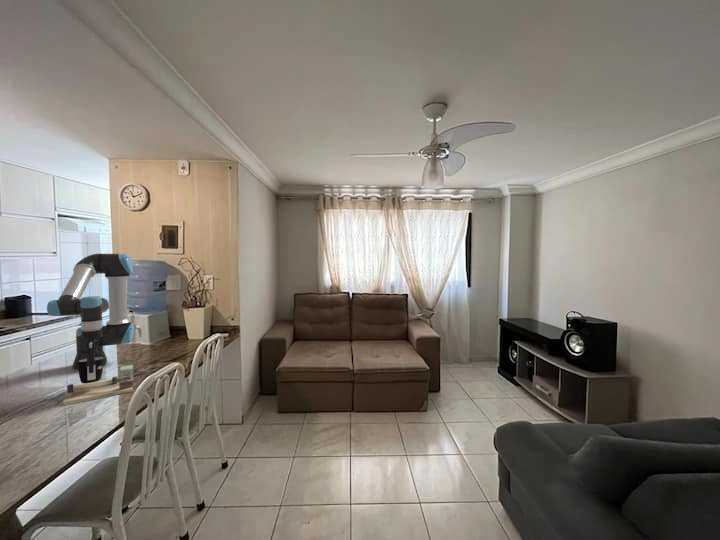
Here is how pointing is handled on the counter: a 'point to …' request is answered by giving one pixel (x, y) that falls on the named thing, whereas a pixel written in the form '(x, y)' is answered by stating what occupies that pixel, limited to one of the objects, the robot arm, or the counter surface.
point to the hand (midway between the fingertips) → (93, 375)
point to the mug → (83, 370)
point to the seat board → (97, 390)
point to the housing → (126, 369)
